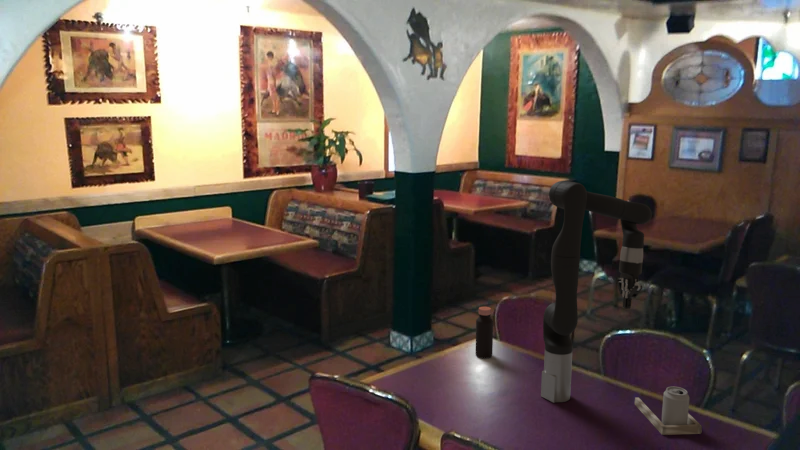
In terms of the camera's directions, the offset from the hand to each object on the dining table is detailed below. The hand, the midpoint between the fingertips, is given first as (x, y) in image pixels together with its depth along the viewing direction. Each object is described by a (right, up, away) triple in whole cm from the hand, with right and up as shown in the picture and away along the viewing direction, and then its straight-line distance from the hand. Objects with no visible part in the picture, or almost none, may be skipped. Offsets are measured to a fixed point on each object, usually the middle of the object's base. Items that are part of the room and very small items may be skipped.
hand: (626, 308), depth 225 cm
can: (+6, -34, -24) cm, 42 cm away
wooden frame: (+6, -33, -19) cm, 39 cm away
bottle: (-46, -24, +32) cm, 61 cm away
